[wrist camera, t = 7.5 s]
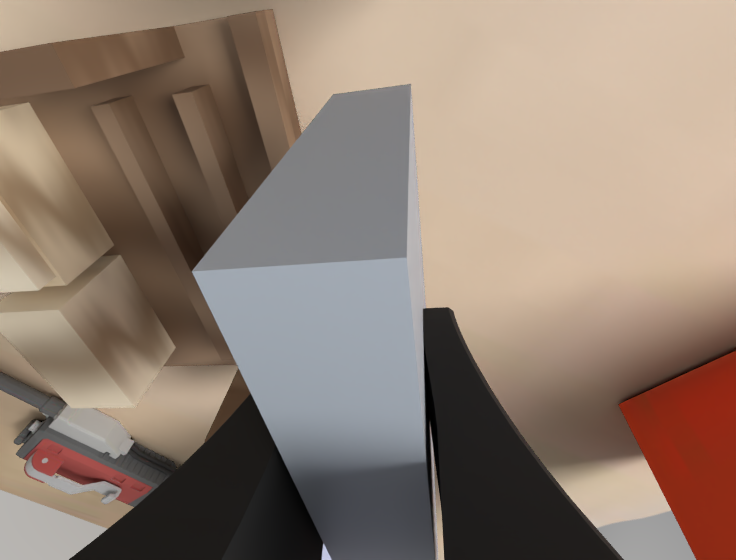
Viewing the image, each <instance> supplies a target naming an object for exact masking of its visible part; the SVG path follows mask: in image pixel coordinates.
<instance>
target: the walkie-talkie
mask: <svg viewBox="0 0 736 560" xmlns="http://www.w3.org/2000/svg"><path fill="white" fill-rule="evenodd" d="M0 390H2V391H4V392H6V393H8V394H10V395H12V396H14V397H16V398H18V399H20V400H22V401H24V402H26V403H28V404H30V405H32V406H34V407H36V408H39V411H40V412H42V414H43V415H45V416H47V417H46V418H47V419H46V420H45V421H42V422H40V421H38V420H32V421H31V422H30V423H29V424H28V426H27V427H26V428H25V429H24V430H23V431H22V432H21V433H20V435H19V436H18V437H17V438H16V439H15V440H14V443H15V444H17V445H19V444H21V443H24V445H23V446H22V447H21V448H20V449H19V450H18V452H17V453H16V455H17V456H19V457H20V458H22V459H25V460H27V462H26V463H25V467H24V471H25V473H26V475H27V476H28V477H30V478H32V479H35V480H37V481H40V482H42V483H48V484H49V486H51V487H54V488H56V489H58V490H61V491H63V492H65V493H68V494H76V493H81V492H86V491H92V490H94V491H97V492H99V493H101V494H103V495H106V497H104V498H102V500H101V502H102V503H104V504H108V503H109V502H111V501H112V500H114V499H117V500H119V501H121V502H124V503H126V504H128V505H131V506H133V507H135V506H137V505H138V504H139V503H140V502H141V501H142V500H143V499H145V498H146V497H147V496H148V495H149V494H150V493H151V492H152V491H154V490H155V489H156V488H157V487H158V486H159V485H160V484H162V483H163V482H164V481H165V480H166V479H167V478H168V477H169V476H171V475H172V474H173V473H174V472H175V471H176V470H177V469H176V465H175V463H174V462H172V461H170V460H169V459H166V458H164V457H163V456H160V455H159V454H156V453H154V452H153V451H150V450H148V449H147V448H144V447H143V446H141V445H138V444H137V443H136V442H135V443H134V441H133V440H131V439H130V438H131V436H130V434H129V433H128V432H127V431H126V429H125V428H124V427H123V426H122V425H121V423H120V422H119V421H118V420H116V419H114V418H112V417H110V416H108V415H106V414H104V413H102V412H100V411H98V410H97V409H95V408H71V407H70V406H69V405H68V404H67V403H66V402H64V401H62V400H60V399H58V398H56V397H54V396H51V397H49V396H47V395H45V394H44V393H42V392H40V391H38V390H36V389H34V388H32V387H30V386H28V385H26V384H24V383H22V382H20V381H18V380H16V379H14V378H12V377H10V376H8V375H6V374H4V373H2V372H0ZM55 473H57V474H59V475H62V476H64V477H66V478H68V479H71V480H73V481H75V482H78V483H80V484H82V485H80V484H78V483H75V482H73V481H71V480H68V479H66V478H64V477H61V476H55V475H54V474H55Z"/></svg>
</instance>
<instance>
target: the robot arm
mask: <svg viewBox="0 0 736 560" xmlns="http://www.w3.org/2000/svg"><path fill="white" fill-rule="evenodd" d="M423 341H424V354H425V367H426V380H427V393H428V406H429V419H430V427H431V434H432V442H433V449H434V457H435V464H436V471H437V479H438V486H439V493H440V501H441V510H442V523H443V541H444V560H624V559H623V558H622V557H621V556H620V555H619V554H618V553H617V551H616V550H615V549H614V548H613V547H612V546H611V544H610V543H609V542H608V541H607V540H606V539H605V538H604V536H602V534H601V533H600V532H599V531H598V530H597V528H596V527H595V526H594V525H593V524H592V523H591V522H590V520H589V519H588V518H587V517H586V516H585V515H584V513H583V512H582V511H581V510H580V509H579V508H578V507H577V505H576V504H575V503H574V502H573V501H572V500H571V498H570V497H569V496H568V495H567V494H566V492H565V491H564V490H563V489H562V487H561V486H560V485H559V484H558V482H557V481H556V480H555V478H554V477H553V476H552V475H551V473H550V472H549V471H548V470H547V468H546V467H545V466H544V465H543V463H542V462H541V461H540V459H539V458H538V457H537V455H536V454H535V453H534V451H533V450H532V449H531V447H530V446H529V445H528V443H527V442H526V441H525V439H524V438H523V436H522V435H521V434H520V432H519V431H518V429H517V428H516V426H515V425H514V424H513V422H512V421H511V419H510V418H509V416H508V415H507V413H506V412H505V410H504V409H503V407H502V406H501V404H500V403H499V401H498V399H497V398H496V396H495V395H494V393H493V391H492V390H491V388H490V387H489V385H488V383H487V381H486V380H485V378H484V376H483V374H482V373H481V371H480V369H479V368H478V366H477V364H476V362H475V360H474V359H473V357H472V355H471V353H470V351H469V349H468V347H467V345H466V343H465V341H464V339H463V336H462V334H461V332H460V329H459V327H458V324H457V322H456V319H455V316H454V312H453V311H452V310H451V309H450V308H449V307H446V308H424V309H423ZM69 560H332V559H331V557H330V555H329V553H328V551H327V549H326V547H325V545H324V543H323V541H322V539H321V537H320V535H319V533H318V531H317V529H316V527H315V524H314V522H313V520H312V518H311V516H310V514H309V512H308V510H307V508H306V506H305V504H304V502H303V500H302V498H301V496H300V494H299V492H298V489H297V487H296V485H295V483H294V481H293V479H292V477H291V475H290V473H289V471H288V469H287V467H286V465H285V463H284V461H283V459H282V456H281V454H280V452H279V450H278V448H277V446H276V444H275V442H274V440H273V438H272V436H271V434H270V432H269V430H268V428H267V426H266V424H265V421H264V419H263V417H262V415H261V413H260V411H259V409H258V407H257V405H256V403H255V401H254V399H253V397H252V395H251V393H250V394H249V396H248V397H247V398H246V399H245V400H244V401H243V402H242V403H241V405H240V406H239V407H238V408H237V409H236V410H235V411H234V413H233V414H232V415H231V416H230V417H229V418H228V419H227V420H226V421H225V422H224V424H223V425H222V426H221V427H220V428H219V429H218V430H217V431H216V432H215V433H214V434H213V435H212V436H211V437H210V438H209V439H208V440H207V441H206V442H205V443H204V444H203V445H202V446H201V447H200V448H199V449H198V450H197V451H196V452H195V453H194V454H193V455H192V456H191V457H190V458H189V459H188V460H187V461H186V462H185V463H184V464H182V465H181V466H180V467H179V468H178V469H177V470H176V471H175V472H174V473H173V474H172V475H171V476H169V477H168V478H167V479H166V480H165V481H164V482H163V483H162V484H160V485H159V486H158V487H157V488H156V489H155V490H154V491H152V492H151V493H150V494H149V495H148V496H147V497H146V498H145V499H143V500H142V501H141V502H140V503H139V504H138V505H137V506H135V507H134V508H133V509H132V510H131V511H129V512H128V513H127V514H126V515H125V516H123V517H122V518H121V519H120V520H118V521H117V522H116V523H115V524H113V525H112V526H111V527H110V528H109V529H107V530H106V531H105V532H104V533H102V534H101V535H100V536H99V537H97V538H96V539H95V540H94V541H92V542H91V543H90V544H89V545H87V546H86V547H85V548H83V549H82V550H81V551H79V552H78V553H77V554H76V555H74V556H73V557H72V558H70V559H69Z"/></svg>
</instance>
